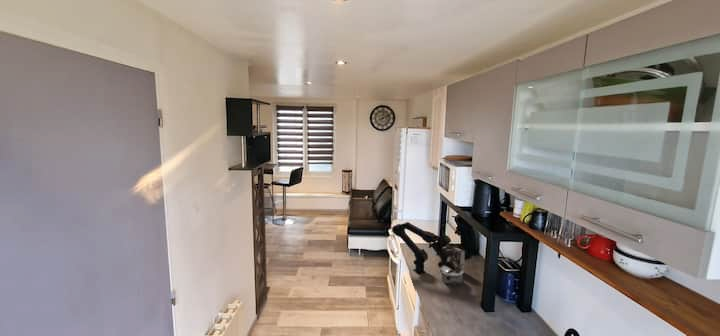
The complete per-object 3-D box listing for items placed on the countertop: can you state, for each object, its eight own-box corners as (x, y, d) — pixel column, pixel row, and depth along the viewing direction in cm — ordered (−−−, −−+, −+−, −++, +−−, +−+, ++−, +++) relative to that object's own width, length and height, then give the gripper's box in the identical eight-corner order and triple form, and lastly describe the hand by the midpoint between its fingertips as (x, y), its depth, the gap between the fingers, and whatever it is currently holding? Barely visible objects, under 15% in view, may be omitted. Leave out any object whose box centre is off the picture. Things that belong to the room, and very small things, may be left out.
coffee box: (464, 272, 205) (466, 250, 203) (459, 275, 201) (461, 253, 198) (453, 267, 212) (454, 246, 210) (448, 270, 208) (449, 248, 205)
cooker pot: (436, 283, 190) (436, 274, 189) (445, 272, 204) (445, 264, 203) (457, 290, 182) (458, 281, 181) (465, 278, 196) (466, 270, 195)
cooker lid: (438, 273, 190) (438, 270, 190) (445, 265, 201) (445, 262, 201) (459, 278, 182) (459, 274, 182) (465, 269, 193) (465, 266, 193)
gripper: (443, 248, 184) (460, 270, 179) (452, 239, 199) (468, 259, 194) (431, 257, 189) (446, 278, 184) (441, 247, 204) (456, 266, 200)
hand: (455, 270), depth 190 cm, fingers closed
